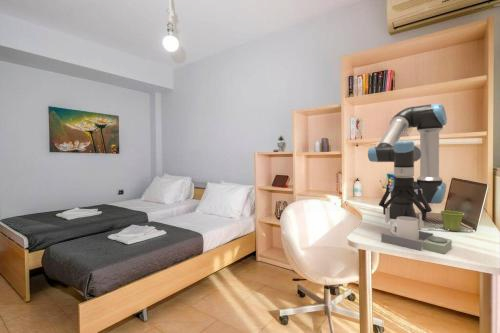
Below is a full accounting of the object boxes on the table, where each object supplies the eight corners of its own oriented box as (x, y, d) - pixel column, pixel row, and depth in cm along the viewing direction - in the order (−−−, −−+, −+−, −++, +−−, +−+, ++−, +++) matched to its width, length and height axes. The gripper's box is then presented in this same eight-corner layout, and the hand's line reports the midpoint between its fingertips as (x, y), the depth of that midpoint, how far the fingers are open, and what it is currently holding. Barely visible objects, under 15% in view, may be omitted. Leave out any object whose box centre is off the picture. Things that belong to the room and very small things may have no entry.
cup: (412, 246, 106) (412, 222, 106) (384, 238, 117) (384, 216, 116) (422, 242, 111) (422, 219, 110) (394, 235, 121) (394, 214, 120)
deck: (395, 233, 123) (395, 225, 123) (453, 245, 107) (453, 236, 106) (381, 241, 113) (381, 232, 113) (442, 255, 96) (442, 245, 96)
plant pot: (448, 226, 134) (448, 209, 134) (468, 231, 126) (469, 213, 125) (435, 228, 132) (435, 211, 131) (455, 233, 123) (455, 215, 122)
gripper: (371, 176, 119) (371, 221, 121) (435, 179, 100) (434, 232, 102) (378, 174, 124) (378, 218, 125) (440, 177, 105) (440, 228, 106)
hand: (403, 224), depth 114 cm, fingers open, 13 cm apart
